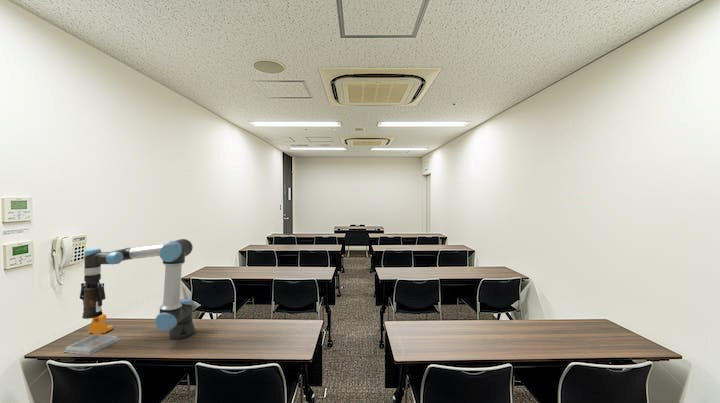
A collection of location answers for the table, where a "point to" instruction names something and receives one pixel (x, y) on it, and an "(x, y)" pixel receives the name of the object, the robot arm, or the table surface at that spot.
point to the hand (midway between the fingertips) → (92, 310)
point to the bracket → (99, 325)
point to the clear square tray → (91, 344)
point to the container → (90, 303)
